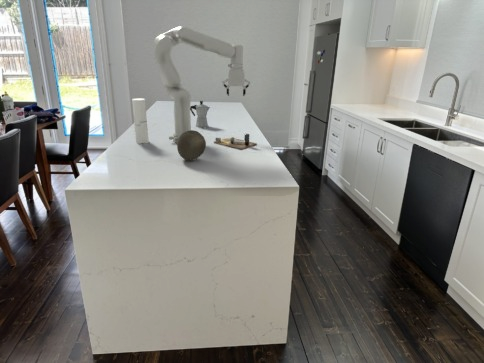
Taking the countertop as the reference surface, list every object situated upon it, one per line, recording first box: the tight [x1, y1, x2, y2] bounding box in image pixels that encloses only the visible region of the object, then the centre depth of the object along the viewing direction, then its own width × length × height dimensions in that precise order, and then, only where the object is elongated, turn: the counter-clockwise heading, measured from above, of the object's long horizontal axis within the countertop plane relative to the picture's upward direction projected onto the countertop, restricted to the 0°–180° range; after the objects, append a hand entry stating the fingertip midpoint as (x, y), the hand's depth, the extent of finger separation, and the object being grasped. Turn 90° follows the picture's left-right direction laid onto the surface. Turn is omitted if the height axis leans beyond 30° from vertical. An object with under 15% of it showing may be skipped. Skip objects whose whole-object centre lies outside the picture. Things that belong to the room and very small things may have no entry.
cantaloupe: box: [176, 129, 207, 162], centre depth 170 cm, size 14×14×15 cm
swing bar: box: [229, 133, 250, 145], centre depth 198 cm, size 12×3×6 cm, turn 70°
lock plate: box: [213, 136, 258, 151], centre depth 202 cm, size 15×21×3 cm
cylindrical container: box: [131, 97, 149, 144], centre depth 198 cm, size 7×7×25 cm
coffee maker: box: [190, 100, 211, 129], centre depth 242 cm, size 15×9×18 cm, turn 84°
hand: (236, 95), depth 212 cm, fingers open, 9 cm apart
